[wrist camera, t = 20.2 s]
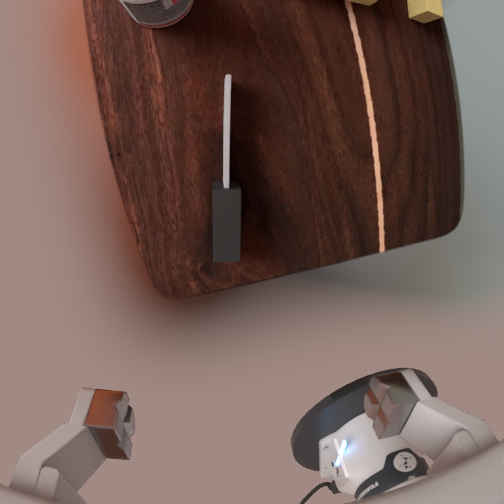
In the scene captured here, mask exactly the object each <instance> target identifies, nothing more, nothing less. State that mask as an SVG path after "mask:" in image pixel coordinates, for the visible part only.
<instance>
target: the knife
mask: <svg viewBox="0 0 504 504" xmlns="http://www.w3.org/2000/svg"><path fill="white" fill-rule="evenodd" d="M230 106H231V75H226V77H225V86H224V135H223V182H213V257H214V262H240V248H241V188H240V186H239V184H238V182H229V164H230Z"/></svg>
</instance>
